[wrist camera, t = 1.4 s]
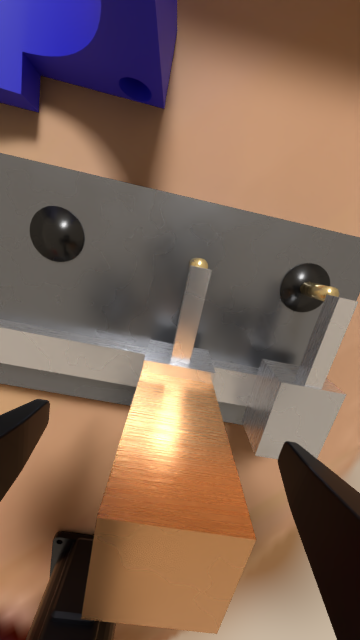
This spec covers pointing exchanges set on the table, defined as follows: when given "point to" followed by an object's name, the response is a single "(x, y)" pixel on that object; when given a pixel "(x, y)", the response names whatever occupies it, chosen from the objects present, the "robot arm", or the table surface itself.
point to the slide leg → (171, 494)
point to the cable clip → (87, 47)
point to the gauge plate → (171, 297)
